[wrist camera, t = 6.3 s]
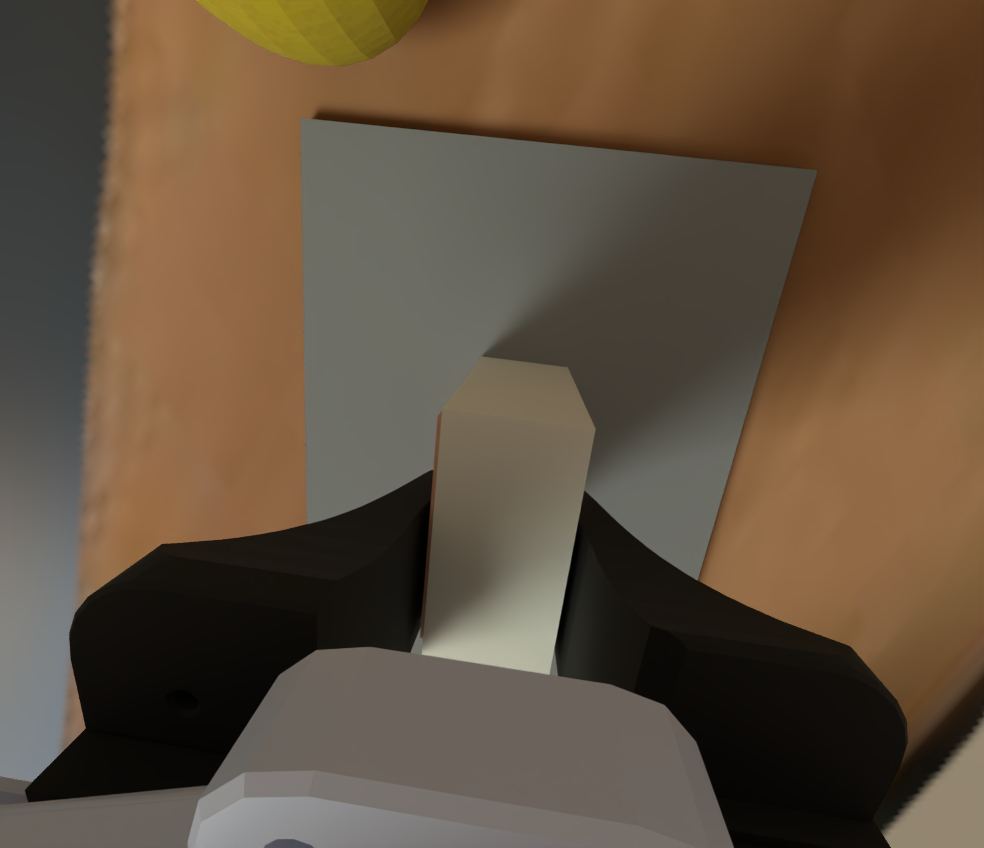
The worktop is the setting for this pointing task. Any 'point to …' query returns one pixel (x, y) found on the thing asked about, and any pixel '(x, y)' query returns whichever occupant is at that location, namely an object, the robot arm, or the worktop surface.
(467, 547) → the cream upright block
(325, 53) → the lemon
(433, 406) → the mat
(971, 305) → the worktop surface
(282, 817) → the robot arm
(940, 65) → the worktop surface
